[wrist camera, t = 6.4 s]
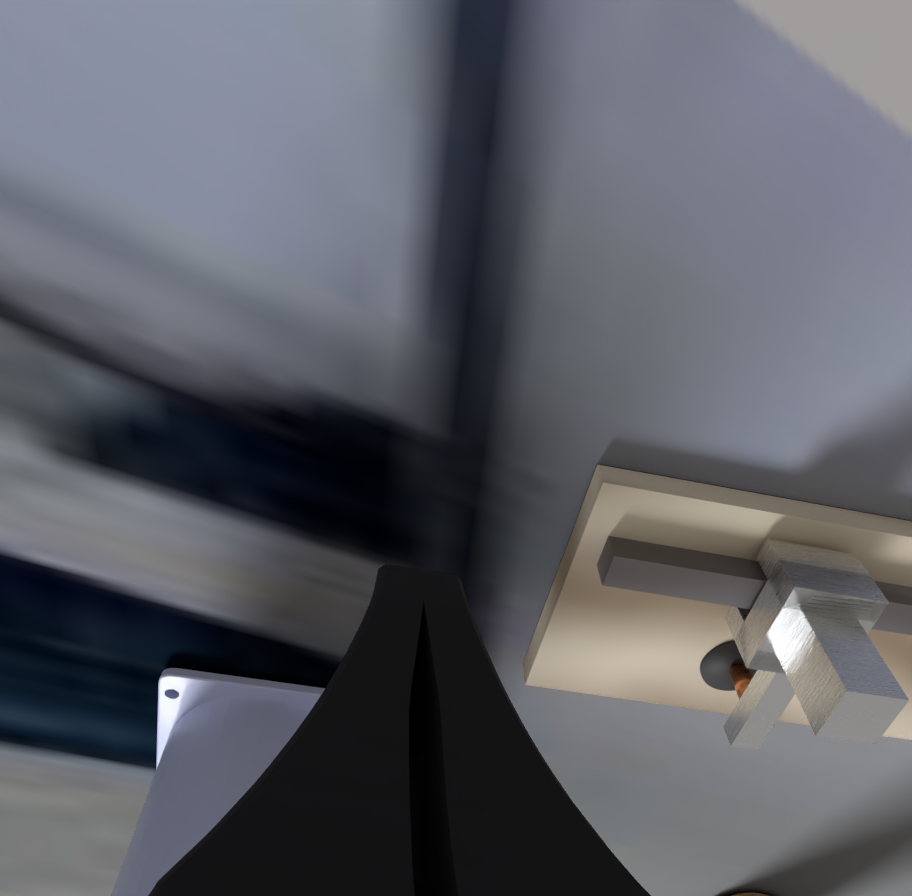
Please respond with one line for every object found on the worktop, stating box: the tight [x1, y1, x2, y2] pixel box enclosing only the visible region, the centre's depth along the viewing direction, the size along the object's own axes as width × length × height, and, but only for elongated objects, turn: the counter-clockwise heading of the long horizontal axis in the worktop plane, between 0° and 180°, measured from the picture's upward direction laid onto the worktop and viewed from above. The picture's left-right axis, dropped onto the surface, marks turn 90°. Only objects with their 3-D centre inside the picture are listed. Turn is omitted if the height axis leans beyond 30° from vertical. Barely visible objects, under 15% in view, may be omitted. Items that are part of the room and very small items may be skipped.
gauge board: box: [523, 464, 912, 740], centre depth 27 cm, size 9×20×2 cm, turn 78°
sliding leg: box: [723, 539, 909, 750], centre depth 24 cm, size 7×3×5 cm, turn 168°
